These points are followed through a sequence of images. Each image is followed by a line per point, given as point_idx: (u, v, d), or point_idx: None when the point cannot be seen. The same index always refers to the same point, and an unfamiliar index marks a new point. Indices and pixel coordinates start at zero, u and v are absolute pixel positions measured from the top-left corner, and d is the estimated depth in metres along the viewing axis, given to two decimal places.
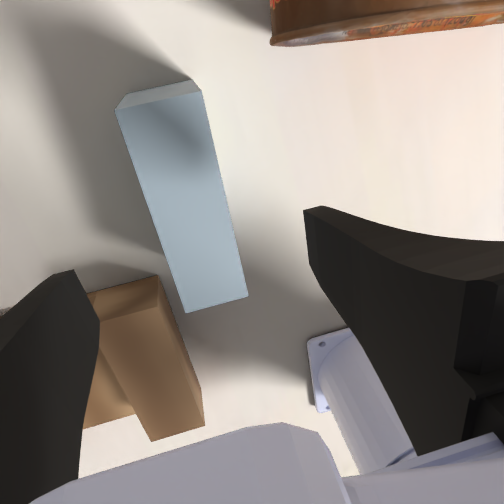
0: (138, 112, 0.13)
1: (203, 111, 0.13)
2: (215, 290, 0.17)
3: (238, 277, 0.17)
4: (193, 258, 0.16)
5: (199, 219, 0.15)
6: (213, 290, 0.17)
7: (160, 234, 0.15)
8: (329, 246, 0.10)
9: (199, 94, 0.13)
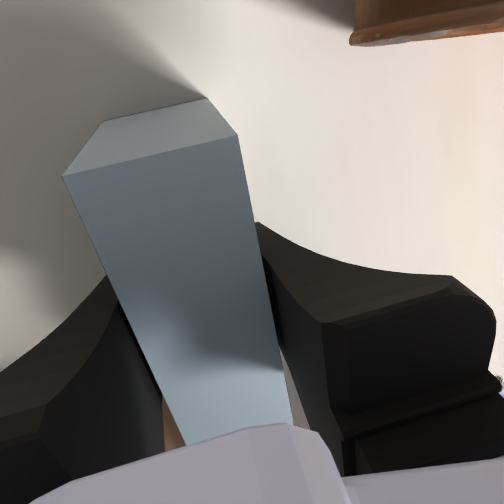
0: (112, 178, 0.06)
1: (239, 172, 0.07)
2: None
3: (283, 416, 0.10)
4: (212, 399, 0.09)
5: (224, 346, 0.09)
6: None
7: (157, 372, 0.09)
8: None
9: (233, 141, 0.06)
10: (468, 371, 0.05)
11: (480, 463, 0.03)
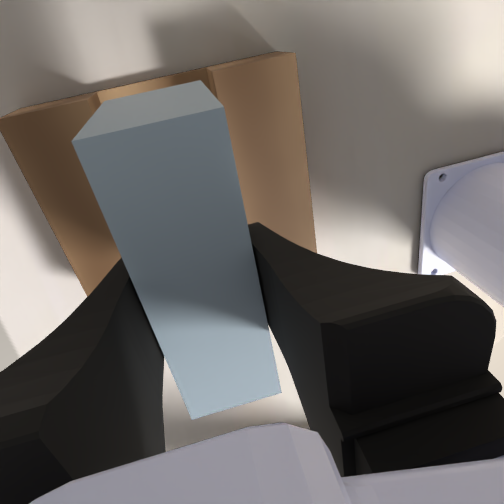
0: (115, 144, 0.07)
1: (226, 140, 0.08)
2: (235, 389, 0.12)
3: (269, 371, 0.11)
4: (204, 352, 0.11)
5: (214, 301, 0.10)
6: (232, 389, 0.12)
7: (154, 324, 0.10)
8: (256, 265, 0.10)
9: (220, 112, 0.07)
10: (468, 371, 0.05)
11: (479, 463, 0.03)
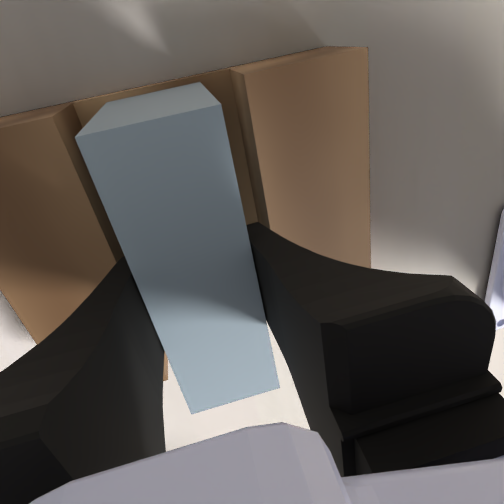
0: (116, 140, 0.08)
1: (223, 137, 0.08)
2: (234, 383, 0.12)
3: (267, 365, 0.12)
4: (203, 346, 0.11)
5: (213, 295, 0.10)
6: (231, 384, 0.12)
7: (154, 317, 0.10)
8: (256, 265, 0.10)
9: (217, 109, 0.08)
10: (468, 371, 0.05)
11: (480, 463, 0.03)
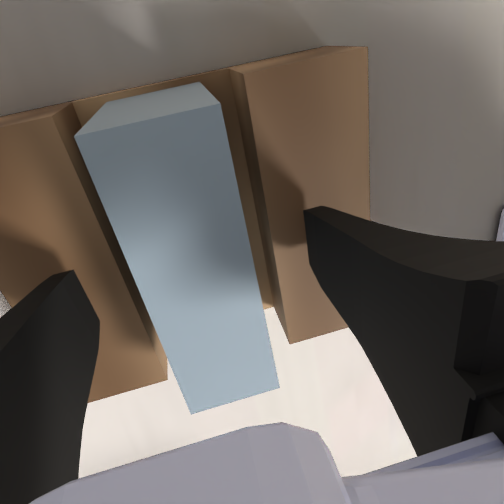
0: (115, 139, 0.08)
1: (222, 136, 0.08)
2: (233, 383, 0.12)
3: (267, 365, 0.12)
4: (203, 346, 0.11)
5: (212, 294, 0.10)
6: (230, 383, 0.12)
7: (154, 317, 0.10)
8: (329, 246, 0.10)
9: (216, 109, 0.08)
10: None
11: (480, 463, 0.03)
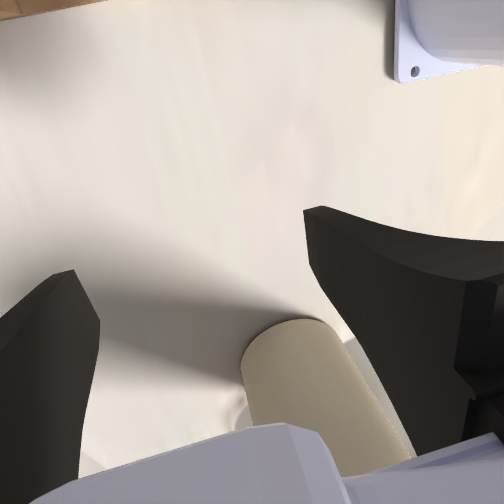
0: None
1: None
2: None
3: None
4: None
5: None
6: None
7: None
8: (329, 246, 0.10)
9: None
10: None
11: (480, 463, 0.03)
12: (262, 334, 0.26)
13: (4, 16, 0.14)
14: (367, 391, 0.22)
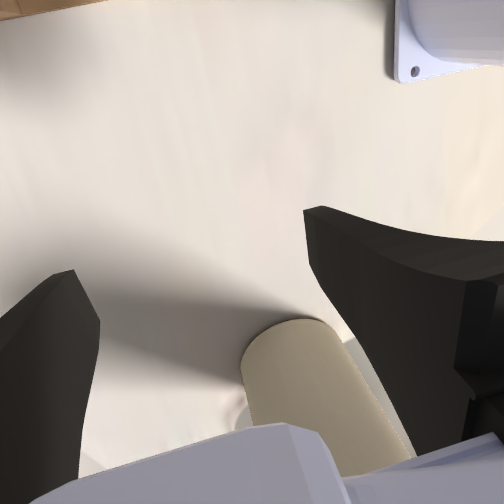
0: None
1: None
2: None
3: None
4: None
5: None
6: None
7: None
8: (329, 246, 0.10)
9: None
10: None
11: (480, 463, 0.03)
12: (262, 334, 0.26)
13: (4, 16, 0.14)
14: (367, 391, 0.22)
